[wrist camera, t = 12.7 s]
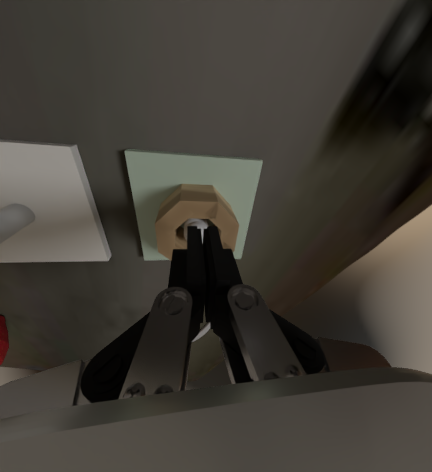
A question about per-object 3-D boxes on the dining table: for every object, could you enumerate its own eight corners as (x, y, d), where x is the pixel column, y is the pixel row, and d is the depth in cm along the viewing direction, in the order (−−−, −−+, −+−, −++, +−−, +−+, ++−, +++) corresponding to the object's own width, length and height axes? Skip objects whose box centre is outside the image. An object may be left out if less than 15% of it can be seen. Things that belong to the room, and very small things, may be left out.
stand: (-107, 131, 13) (-226, 138, 9) (76, 144, 15) (38, 155, 11) (-6, 256, 19) (-51, 289, 16) (111, 255, 21) (95, 284, 18)
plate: (127, 148, 15) (103, 162, 11) (259, 158, 17) (282, 173, 13) (146, 254, 22) (135, 288, 18) (239, 253, 24) (250, 284, 19)
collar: (147, 216, 18) (138, 238, 15) (197, 168, 16) (200, 182, 13) (195, 252, 21) (196, 277, 18) (241, 217, 19) (252, 238, 16)
